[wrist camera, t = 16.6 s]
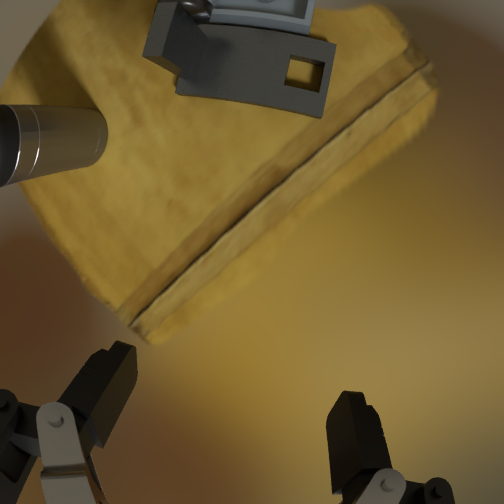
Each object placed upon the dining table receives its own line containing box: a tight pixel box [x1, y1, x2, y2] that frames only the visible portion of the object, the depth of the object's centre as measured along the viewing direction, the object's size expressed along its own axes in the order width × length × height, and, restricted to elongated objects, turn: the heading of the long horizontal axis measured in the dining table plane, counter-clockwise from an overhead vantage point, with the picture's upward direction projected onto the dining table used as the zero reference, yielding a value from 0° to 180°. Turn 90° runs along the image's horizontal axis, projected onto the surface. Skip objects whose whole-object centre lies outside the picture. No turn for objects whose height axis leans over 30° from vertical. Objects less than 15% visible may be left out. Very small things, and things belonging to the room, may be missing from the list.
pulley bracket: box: [142, 0, 336, 119], centre depth 25 cm, size 20×10×13 cm, turn 79°
